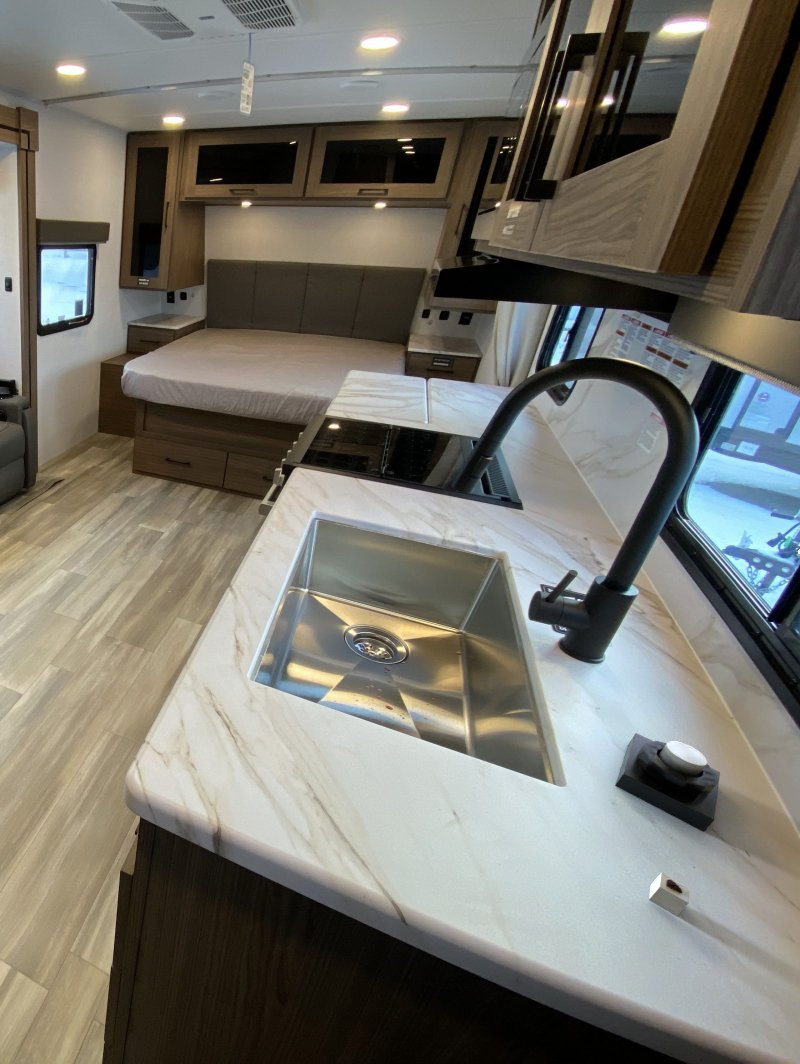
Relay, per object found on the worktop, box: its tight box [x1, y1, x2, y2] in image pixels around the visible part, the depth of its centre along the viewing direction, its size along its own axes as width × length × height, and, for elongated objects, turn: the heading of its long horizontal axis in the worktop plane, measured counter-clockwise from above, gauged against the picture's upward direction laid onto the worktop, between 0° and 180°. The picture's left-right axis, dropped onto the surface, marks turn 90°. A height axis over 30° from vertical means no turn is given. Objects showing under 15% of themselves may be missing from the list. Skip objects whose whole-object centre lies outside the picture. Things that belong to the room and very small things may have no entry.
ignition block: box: [614, 732, 721, 833], centre depth 70 cm, size 10×8×4 cm
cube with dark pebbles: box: [648, 872, 691, 917], centre depth 58 cm, size 2×2×2 cm
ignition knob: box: [659, 740, 709, 777], centre depth 69 cm, size 4×4×2 cm
